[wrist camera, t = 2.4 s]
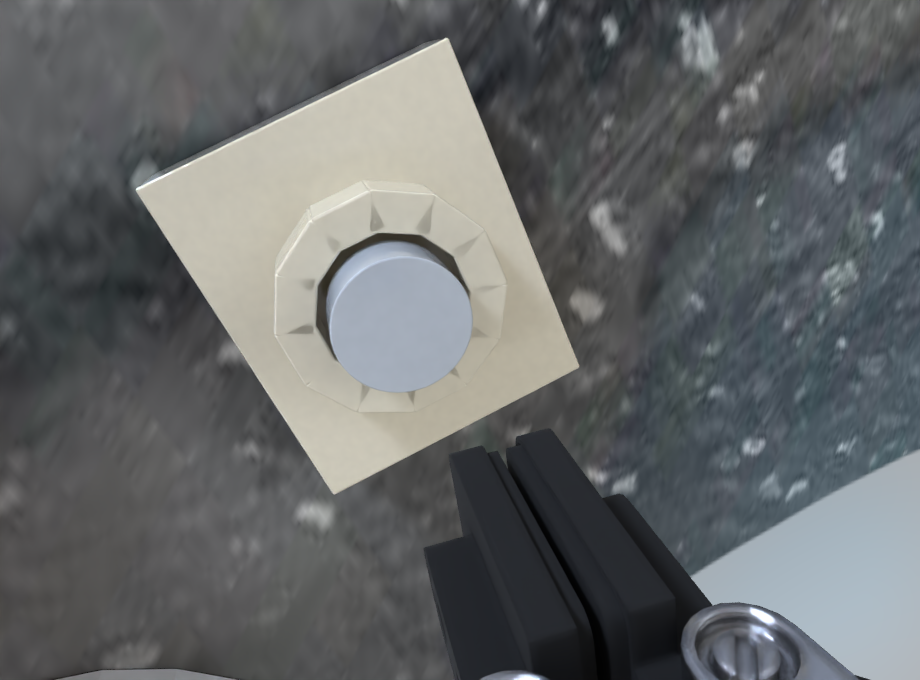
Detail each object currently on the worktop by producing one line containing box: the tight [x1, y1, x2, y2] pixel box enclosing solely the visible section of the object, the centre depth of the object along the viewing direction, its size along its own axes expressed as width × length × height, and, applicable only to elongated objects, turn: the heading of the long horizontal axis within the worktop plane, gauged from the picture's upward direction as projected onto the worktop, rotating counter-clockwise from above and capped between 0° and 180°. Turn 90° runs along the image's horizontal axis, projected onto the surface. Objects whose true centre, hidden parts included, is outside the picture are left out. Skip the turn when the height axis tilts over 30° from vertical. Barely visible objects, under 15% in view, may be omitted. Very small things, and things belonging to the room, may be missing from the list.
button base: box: [136, 38, 579, 494], centre depth 23 cm, size 12×10×5 cm
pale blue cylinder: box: [325, 240, 473, 393], centre depth 20 cm, size 4×4×2 cm
